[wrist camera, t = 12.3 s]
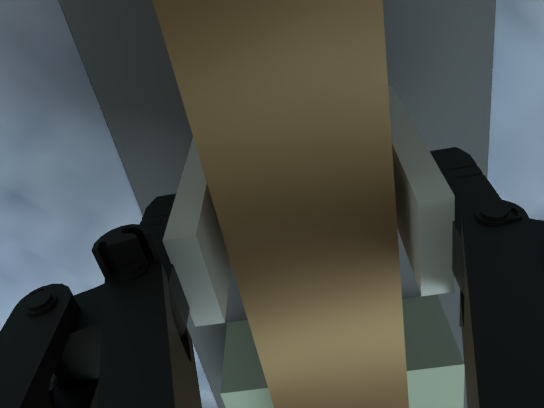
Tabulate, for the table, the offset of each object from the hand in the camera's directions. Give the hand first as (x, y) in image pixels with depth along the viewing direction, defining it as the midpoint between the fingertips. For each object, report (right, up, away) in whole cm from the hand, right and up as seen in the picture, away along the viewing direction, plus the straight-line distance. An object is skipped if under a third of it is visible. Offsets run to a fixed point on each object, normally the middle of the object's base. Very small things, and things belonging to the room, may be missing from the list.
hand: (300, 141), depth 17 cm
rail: (0, -1, -2) cm, 2 cm away
